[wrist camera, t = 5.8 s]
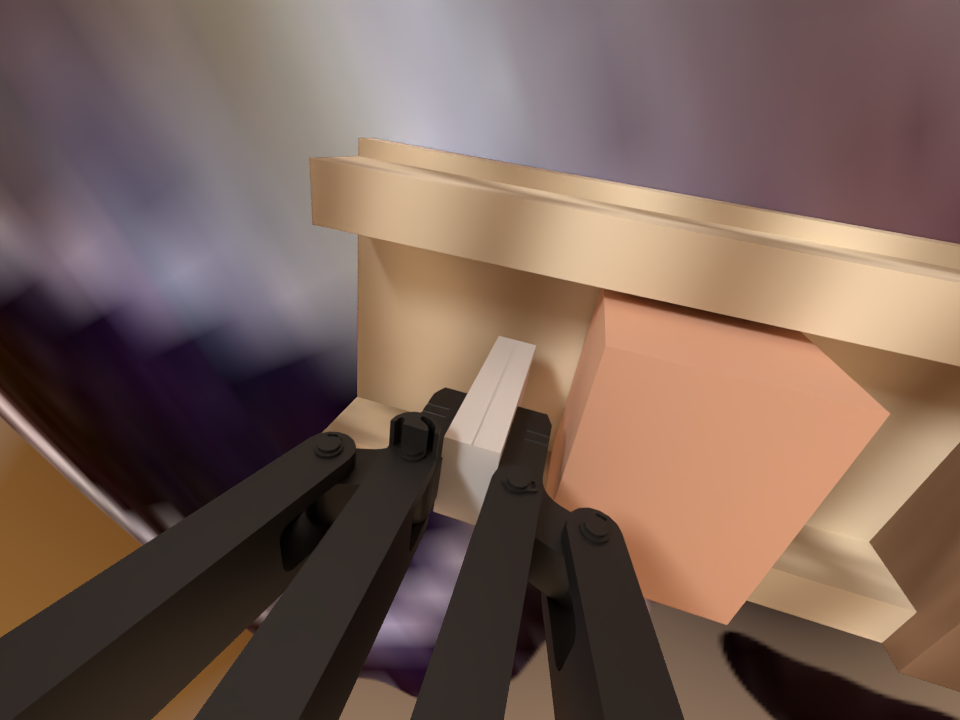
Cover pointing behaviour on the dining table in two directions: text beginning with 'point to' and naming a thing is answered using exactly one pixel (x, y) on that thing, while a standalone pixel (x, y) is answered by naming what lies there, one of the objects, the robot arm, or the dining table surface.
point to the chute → (693, 283)
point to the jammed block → (703, 443)
